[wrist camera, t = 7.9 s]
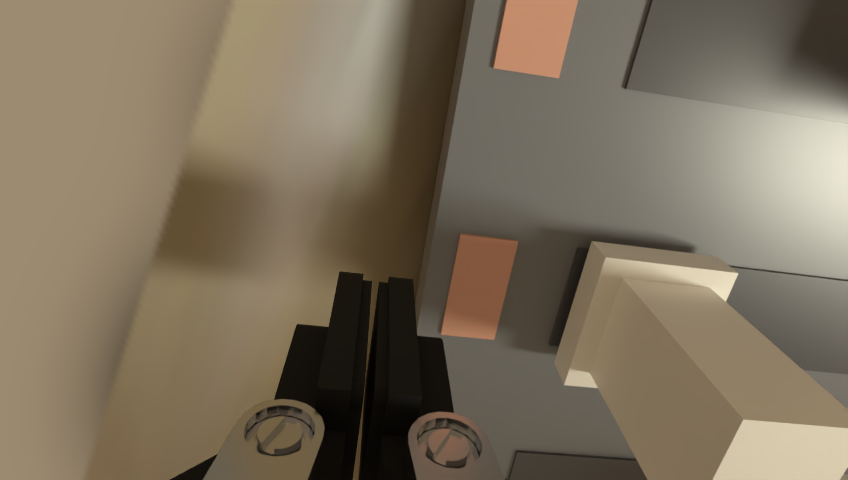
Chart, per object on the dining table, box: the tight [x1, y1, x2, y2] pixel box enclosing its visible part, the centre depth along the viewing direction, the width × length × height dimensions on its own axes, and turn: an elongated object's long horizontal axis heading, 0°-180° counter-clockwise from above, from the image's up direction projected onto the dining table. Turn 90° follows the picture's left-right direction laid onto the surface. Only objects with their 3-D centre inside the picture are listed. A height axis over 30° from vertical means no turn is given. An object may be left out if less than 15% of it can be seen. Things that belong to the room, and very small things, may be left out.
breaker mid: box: [554, 241, 848, 480], centre depth 12 cm, size 4×4×6 cm
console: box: [415, 0, 848, 480], centre depth 16 cm, size 22×20×2 cm
